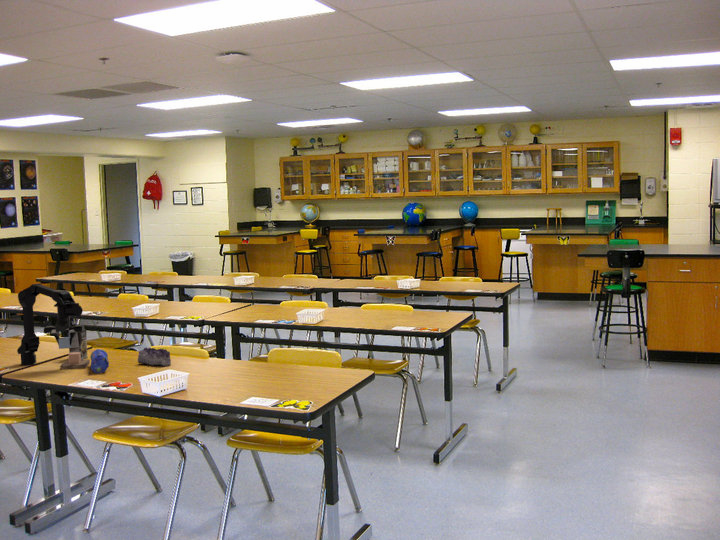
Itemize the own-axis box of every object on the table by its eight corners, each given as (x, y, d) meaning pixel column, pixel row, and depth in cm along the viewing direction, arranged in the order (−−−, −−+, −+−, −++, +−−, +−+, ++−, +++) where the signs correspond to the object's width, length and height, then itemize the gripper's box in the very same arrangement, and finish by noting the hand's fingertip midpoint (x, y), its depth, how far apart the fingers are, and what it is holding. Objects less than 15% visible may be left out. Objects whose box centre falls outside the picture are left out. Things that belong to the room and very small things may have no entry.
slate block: (58, 348, 349) (58, 339, 349) (60, 347, 354) (59, 337, 353) (69, 348, 350) (68, 338, 350) (70, 346, 355) (70, 337, 355)
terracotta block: (68, 363, 355) (68, 354, 355) (70, 361, 360) (70, 352, 360) (79, 363, 356) (78, 353, 356) (81, 361, 361) (80, 352, 361)
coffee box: (80, 361, 371) (79, 331, 370) (69, 361, 371) (67, 331, 370) (88, 357, 380) (86, 328, 379) (76, 357, 380) (75, 328, 379)
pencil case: (109, 373, 343) (108, 354, 342) (90, 375, 340) (90, 356, 339) (107, 364, 363) (107, 346, 362) (90, 365, 360) (89, 348, 359)
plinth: (60, 369, 352) (60, 365, 351) (65, 364, 363) (65, 360, 363) (85, 368, 354) (84, 364, 354) (89, 363, 366) (89, 359, 365)
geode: (178, 363, 364) (177, 345, 362) (164, 371, 354) (162, 352, 352) (149, 358, 373) (147, 341, 371) (134, 365, 363) (132, 348, 361)
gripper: (39, 318, 342) (41, 349, 344) (78, 317, 345) (80, 347, 347) (46, 315, 353) (47, 345, 355) (84, 314, 356) (85, 343, 358)
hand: (65, 345), depth 353 cm, fingers closed on slate block, 5 cm apart
